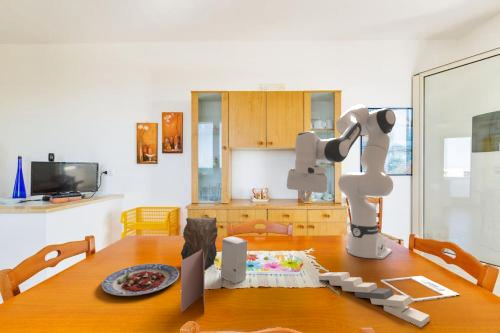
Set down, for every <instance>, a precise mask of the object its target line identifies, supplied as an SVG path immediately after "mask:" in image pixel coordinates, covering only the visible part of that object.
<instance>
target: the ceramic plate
mask: <svg viewBox="0 0 500 333" xmlns="http://www.w3.org/2000/svg"><path fill="white" fill-rule="evenodd" d="M179 277H180V271H179V269H178V268H177V267H175V266H173V265H171V264H164V263H143V264H137V265H132V266H127V267H125V268H122V269H119V270H116V271H114V272H112V273H111V274H110V275H108V276H106V277H105V278H104V279H103V281H102V283H101V289H102V290H103V291H104V292H106V293H107V294H110V295H114V296H121V297H123V296H125V297H127V296H128V297H132V296H141V295H146V294H151V293H154V292H157V291H160V290H162V289H165V288H167V287H169V286H170V285H173V284H174V283H175V282H176V281H177V280H178V279H179Z"/></svg>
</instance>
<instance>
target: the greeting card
mask: <svg viewBox="0 0 500 333" xmlns="http://www.w3.org/2000/svg"><path fill="white" fill-rule="evenodd" d="M180 268H181V269H180V313H183V312H184V311H186V309H188V308H189V307H190V306H191V305H193V303H195V302H196V301H197V300H199V298H201V297H202V301H203V302H202V303H203V306H205V300H206V299H205V272H206V270H205V262H204V253H203V249H202V250H200V251H199V252H197V253H195V254H193V255H191V256H189V257H188V258H186V259H184V260H183V259H182V260H181V261H180Z"/></svg>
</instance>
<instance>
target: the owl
mask: <svg viewBox="0 0 500 333" xmlns="http://www.w3.org/2000/svg"><path fill="white" fill-rule="evenodd" d="M185 219H186V224H185V226H184V228H183V233H182V235H183V236H182V238H183V240H184V241H185V242H184V244H183V246H182V250H181V252H180V255H181V259H182V260H184V259H186V258H188V257H189V256H191V255H193V254H195V253H197V252H199V251H200V250H202V249H203V253H204V262H205V271H207V269H209V268H211V267H212V266H213V265H215V261H216V259H217V254H218V252H217V247H216V241H217V237H218V227H217V221H218V220H217V217H209V216H201V217H186V218H185Z"/></svg>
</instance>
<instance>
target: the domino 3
mask: <svg viewBox="0 0 500 333" xmlns="http://www.w3.org/2000/svg"><path fill="white" fill-rule="evenodd" d="M377 285H378V284H377V282H363V283H360V284H358V285H356V286H340V287H341V290H342V292H354V293H355V292H367V293H369V292H371V291H373V290H375V289H377V288H378V286H377Z"/></svg>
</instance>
